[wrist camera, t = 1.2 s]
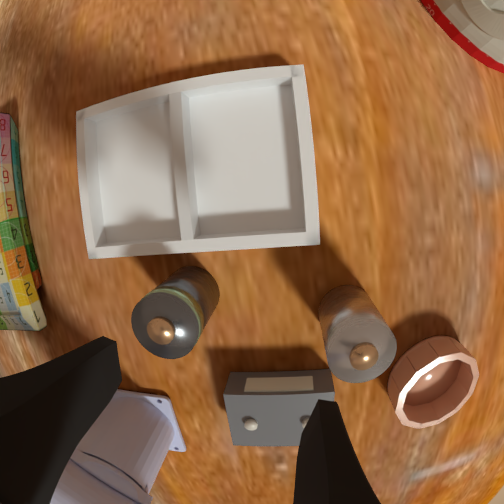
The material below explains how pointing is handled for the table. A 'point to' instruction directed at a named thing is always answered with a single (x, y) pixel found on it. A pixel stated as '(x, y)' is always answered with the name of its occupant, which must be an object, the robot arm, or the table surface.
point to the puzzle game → (16, 242)
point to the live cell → (176, 312)
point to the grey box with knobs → (274, 405)
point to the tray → (200, 166)
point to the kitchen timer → (473, 27)
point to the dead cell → (355, 335)
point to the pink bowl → (432, 381)
